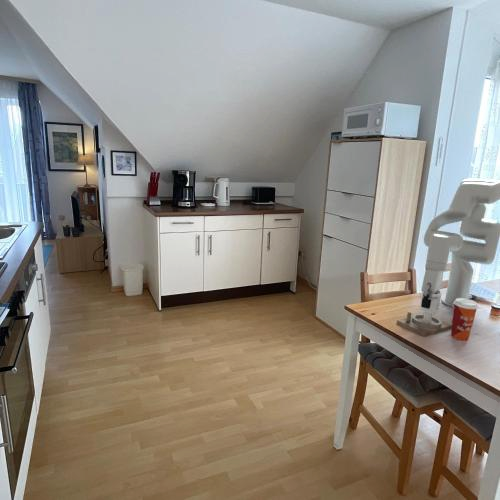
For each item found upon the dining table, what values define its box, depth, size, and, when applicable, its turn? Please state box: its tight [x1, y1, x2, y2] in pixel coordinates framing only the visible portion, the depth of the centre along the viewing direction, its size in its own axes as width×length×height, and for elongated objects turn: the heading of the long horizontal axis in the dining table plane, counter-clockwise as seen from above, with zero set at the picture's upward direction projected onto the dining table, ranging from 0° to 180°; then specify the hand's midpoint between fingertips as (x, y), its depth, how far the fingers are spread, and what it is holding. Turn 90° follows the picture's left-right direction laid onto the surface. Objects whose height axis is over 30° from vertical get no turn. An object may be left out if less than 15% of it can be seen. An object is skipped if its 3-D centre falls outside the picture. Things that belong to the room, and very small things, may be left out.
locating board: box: [396, 311, 452, 337], centre depth 151 cm, size 20×13×6 cm, turn 118°
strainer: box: [419, 290, 443, 324], centre depth 149 cm, size 7×7×15 cm
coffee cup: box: [450, 298, 479, 342], centre depth 141 cm, size 8×8×15 cm
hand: (429, 304), depth 150 cm, fingers open, 9 cm apart
